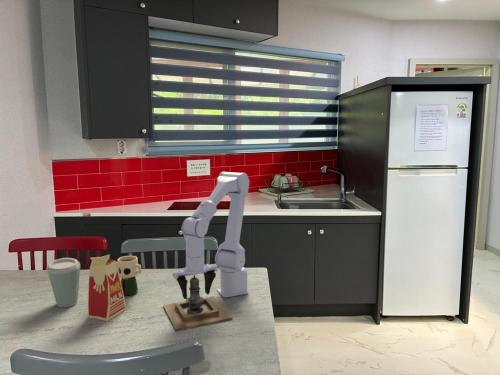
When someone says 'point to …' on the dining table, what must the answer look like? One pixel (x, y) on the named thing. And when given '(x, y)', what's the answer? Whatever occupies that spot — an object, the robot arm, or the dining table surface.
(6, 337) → the dining table surface
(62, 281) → the disposable coffee cup
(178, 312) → the walnut holder
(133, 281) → the character mug
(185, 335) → the dining table surface
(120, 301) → the milk carton
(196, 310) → the salt shaker
